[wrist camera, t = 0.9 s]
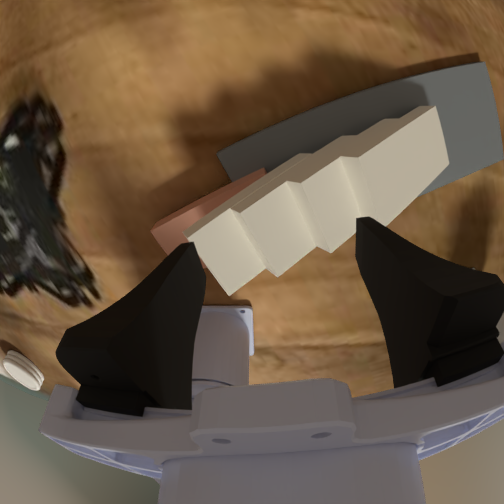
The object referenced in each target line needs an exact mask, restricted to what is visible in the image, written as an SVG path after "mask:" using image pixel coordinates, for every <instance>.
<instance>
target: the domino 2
mask: <svg viewBox="0 0 504 504" xmlns="http://www.w3.org/2000/svg"><path fill="white" fill-rule="evenodd" d="M355 136H356V135H347V136H341V137H339V138H337V139H336V140H334V141H332V142H331V143H329V144H328V145H326V146H324V147H323V148H321V149H320V150H318V151H316V152H315V153H313V154H312V155H310V156H308V157H307V158H305V159H304V160H302V161H301V162H299V163H298V164H296V165H294V166H293V167H291V168H290V169H288V170H287V171H285V172H284V173H282V174H281V175H279V176H278V177H276V178H275V179H273V180H272V181H270V182H269V183H267V184H266V185H264V186H263V187H261V188H260V189H258V190H257V191H255V192H254V193H252V194H251V195H249V196H248V197H246V198H245V199H243V200H242V201H241V202H239V203H238V204H236V205H235V206H233V207H232V208H230V209H231V211H232V212H233V214H234V216H235V217H236V219H237V221H238V222H239V224H240V226H241V227H242V229H243V231H244V232H245V234H246V236H247V237H248V239H249V241H250V242H251V244H252V246H253V247H254V249H255V251H256V252H257V254H258V256H259V257H260V259H261V261H262V262H263V264H264V266H265V267H266V269H267V270H269V271H270V272H271V273H272V274H274V275H275V276H276V277H279V276H280V275H281V274H283V273H284V272H285V271H286V270H288V269H289V268H290V267H291V266H293V265H294V264H295V263H296V262H298V261H299V260H300V259H301V258H303V257H304V256H305V255H306V254H308V253H309V252H310V251H311V250H313V249H314V248H315V247H316V244H315V242H314V240H313V238H312V235H311V233H310V231H309V229H308V226H307V224H306V222H305V220H304V218H303V216H302V213H301V211H300V209H299V207H298V205H297V203H296V201H295V199H294V197H293V194H292V192H291V190H290V188H289V186H288V184H287V182H286V180H287V179H289V178H291V177H292V176H294V175H295V174H297V173H298V172H300V171H301V170H303V169H304V168H306V167H307V166H309V165H310V164H312V163H314V162H315V161H317V160H318V159H320V158H321V157H323V156H325V155H326V154H328V153H329V152H331V151H332V150H334V149H336V148H337V147H339V146H340V145H342V144H344V143H345V142H347V141H348V140H350V139H352V138H353V137H355Z"/></svg>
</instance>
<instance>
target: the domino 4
mask: <svg viewBox="0 0 504 504" xmlns="http://www.w3.org/2000/svg"><path fill="white" fill-rule="evenodd" d="M340 158H341V161H342V164H343V166H344V169H345V171H346V174H347V177H348V179H349V182H350V185H351V188H352V190H353V193H354V196H355V199H356V202H357V205H358V208H359V211H360V214H361V217H368V216H369V217H371V218H373V219H375V220H376V221H378V222H379V223H381V224H382V225H384V226H385V227H386V226H387V225H388V224H389V223H390V222H391V221H392V220H393V219H394V218H395V217H397V216H398V215H399V214H400V213H401V212H402V211H403V210H404V209H405V208H406V207H407V206H408V205H409V204H410V203H411V202H412V201H413V200H414V199H415V198H416V197H417V196H418V195H419V194H420V193H421V192H422V191H423V190H424V189H425V188H426V187H427V186H428V185H429V184H430V183H431V182H432V181H433V180H434V179H435V178H436V177H437V176H438V175H439V174H440V173H441V172H442V171H443V170H444V169H445V168H446V167H447V166H448V165H449V159H448V154H447V149H446V145H445V140H444V136H443V132H442V128H441V124H440V120H439V116H438V112H437V109H436V106H419V107H417V108H415V109H414V110H412V111H410V112H409V113H407V114H406V115H404V116H402V117H401V118H399V119H397V120H396V121H394V122H393V123H391V124H389V125H388V126H386V127H385V128H383V129H381V130H380V131H378V132H377V133H375V134H374V135H372V136H370V137H369V138H367V139H366V140H364V141H363V142H361V143H359V144H358V145H356V146H355V147H353V148H352V149H350V150H349V151H347V152H346V153H344V154H342V155H341V156H340Z"/></svg>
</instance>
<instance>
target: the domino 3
mask: <svg viewBox="0 0 504 504" xmlns="http://www.w3.org/2000/svg"><path fill="white" fill-rule="evenodd" d="M397 119H399V118H394V119H383V120H381V121H380V122H378V123H376V124H375V125H373V126H371V127H370V128H368V129H366V130H365V131H363V132H361V133H360V134H358V135H356V136H355V137H353V138H352V139H350V140H348V141H347V142H345V143H344V144H342V145H340V146H339V147H337V148H336V149H334V150H332V151H331V152H329V153H328V154H326V155H325V156H323V157H321V158H320V159H318V160H317V161H315V162H314V163H312V164H310V165H309V166H307V167H306V168H304V169H303V170H301V171H300V172H298V173H297V174H295V175H294V176H292V177H291V178H289V179H287V180H286V182H287V184H288V186H289V188H290V190H291V192H292V194H293V197H294V199H295V201H296V203H297V205H298V207H299V209H300V211H301V213H302V216H303V218H304V220H305V222H306V224H307V226H308V229H309V231H310V233H311V235H312V238H313V240H314V242H315V244H316V246H317V247H319V248H321V249H324V250H326V251H328V252H330V253H332V252H333V251H334V250H335V249H337V248H338V247H339V246H340V245H341V244H343V243H344V242H345V241H346V240H347V239H349V238H350V237H351V236H352V235H353V234H354V233H356V218H360V217H361V214H360V211H359V208H358V205H357V202H356V199H355V196H354V193H353V190H352V188H351V185H350V182H349V179H348V177H347V174H346V171H345V169H344V166H343V164H342V161H341V158H340V156H341V155H342V154H344V153H346V152H347V151H349V150H350V149H352V148H353V147H355V146H356V145H358V144H359V143H361V142H363V141H364V140H366V139H367V138H369V137H370V136H372V135H374V134H375V133H377V132H378V131H380V130H381V129H383V128H385V127H386V126H388V125H389V124H391V123H393V122H394V121H396V120H397Z"/></svg>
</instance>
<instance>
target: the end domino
mask: <svg viewBox="0 0 504 504" xmlns="http://www.w3.org/2000/svg"><path fill="white" fill-rule="evenodd" d="M266 174H267V172H266V170H265V168H261V169H259V170H257V171H255V172H253V173H251V174H249V175H246V176H244V177H242V178H240V179H238V180H236V181H234V182H232V183H230V184H228V185H226V186H224V187H222V188H220V189H218V190H216V191H214V192H212V193H210V194H208V195H206V196H204V197H202V198H200V199H198V200H196V201H194V202H193V203H191V204H189V205H187V206H185V207H183V208H181V209H179V210H178V211H176V212H174V213H172V214H170V215H168V216H167V217H165V218H163V219H161V220H159V221H157V222H156V223H155V225H154V226H153V228H152V229H151V231H150V232H151V233H152V235H153V236H154V238H155V239H156V240H157V242H158V243H159V244H160V246H161V247H162V249H163V250H164V251H165V253H166V254H167V255H169V254H170V253H171V252H172V251H173V250H174V249H175V248H176V247H178V246H179V245H180V244H181V243H187V242H189V241H188V239H187V238H186V237H185V235H184V234H183V231H184V230H186V229H187V228H188V227H190V226H191V225H193V224H194V223H195V222H197V221H198V220H200V219H201V218H202V217H204V216H205V215H207V214H208V213H210V212H211V211H212V210H214V209H215V208H217V207H218V206H220V205H221V204H223V203H224V202H225V201H227V200H228V199H230V198H231V197H233V196H234V195H236V194H237V193H239V192H240V191H242V190H243V189H245V188H246V187H248V186H249V185H251V184H252V183H254V182H255V181H257V180H258V179H260V178H261V177H263V176H264V175H266ZM199 258H200V256H199ZM200 261H201V264H202V267H203V269H205V268H207V266H206V265H205V263H204V262H203V261H202V259H201V258H200Z"/></svg>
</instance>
